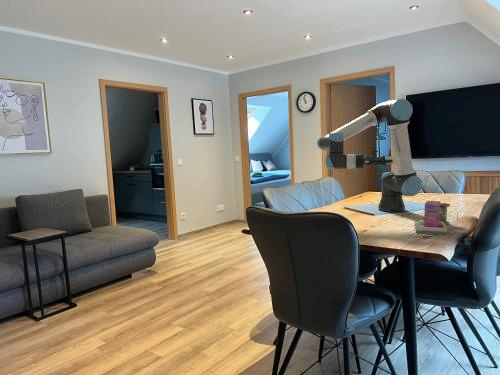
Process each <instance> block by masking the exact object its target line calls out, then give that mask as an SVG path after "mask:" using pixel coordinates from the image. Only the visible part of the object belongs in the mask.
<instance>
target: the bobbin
mask: <svg viewBox="0 0 500 375" xmlns="http://www.w3.org/2000/svg"><path fill="white" fill-rule="evenodd" d="M450 207H451V204H450V203H447V202H440V214H439V221H443V222H444V224H447V226H448V224H449V225H450V221H448V218H447V217H448V215H447V214H448V208H450Z"/></svg>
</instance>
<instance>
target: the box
mask: <svg viewBox="0 0 500 375" xmlns="http://www.w3.org/2000/svg"><path fill="white" fill-rule="evenodd" d="M440 203H441V201H440V200H439V201H438V200H426V202H425V203H424V214H423V216H424V219H423V221H424V227H437V228H438V227H439V214H440Z"/></svg>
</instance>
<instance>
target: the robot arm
mask: <svg viewBox="0 0 500 375" xmlns="http://www.w3.org/2000/svg"><path fill="white" fill-rule="evenodd" d="M413 110H414V109H413V105H412V104H411V103H410V101H408V100H407V99H405V98H395V99H391V100H386V101H382V102H380V103H379V104H377V105H375V106H374V107H372V108H370V109H368V110H367V111H366V112H365V114H362V115H361V116H359V117H358V118H356V119H354V120H352V121H351V122H349V123H346V124H345V125H343V126H341V127H340V128H337V129H335V130H334V131H332V132H329V133H328V134H327V135H325V136H324V135H323V136H320V137H319V138H318V139H317V141H316V145H317V147H318V149H320V150H323V151H329V152H328V153H329V154H326V155H325V158H324V159H325V162H324V163H325V167H326V169H329V170H330V169H331V170H339V169H341V170H342V169H343V170H344V169H347V170H348V169H349V171H350V170H352V169H355V168H356V169H364V166H365V165H368V166H370V165H383V166H386V165H394V164H395V165H394V166H395V171H391V172H389V171H387V172H383V173H382V175H381V197H380V201H379V203H378V206H377V207H378V209H379V210H378V211H380V210H381V211H382V212H386V211H387V213H399V212H405V211H406V205H405V203H404V202H405V201H404V200H403V196H405V197H415V196H417V195H418V194H420V191H421V190H422V189H423V181H422V179H421V177H419V176H418V174H417V171H416V169H414V168H413V162H412V152H411V146H410V138H409V132H408V125H409V124H410V123H411V122H410V118H411V117H412V114H413ZM382 123H386V126H387V127H388V128H389V129H390V133H391V141H392V142H391V143H392V150H393V156H386V155H382V156H378V157H377V156H376V157H375V156H367V157H365V158H364V153H356V154H355V153H348V154H345V153H344V152H345V150H344V144H345V141H346V140H348V139H350V138H351V137H354V136H356V135H358V134H359V133H361V132H363V131H365V130H367V129H369V128H371V127H372V126H373V127H375V126H377V125H379V124H382ZM381 211H380V212H381Z"/></svg>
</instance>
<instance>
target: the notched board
mask: <svg viewBox="0 0 500 375" xmlns="http://www.w3.org/2000/svg"><path fill="white" fill-rule="evenodd" d="M414 229H415V233H416V234H420V233H426V234H425V235H438V234H451V235H452V231H451V230H450V228H449V226H448V225H447V224H444V222H443V221H439V227H438V228H437V227H424V220H420V219H419V221H418V222H414Z"/></svg>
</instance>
